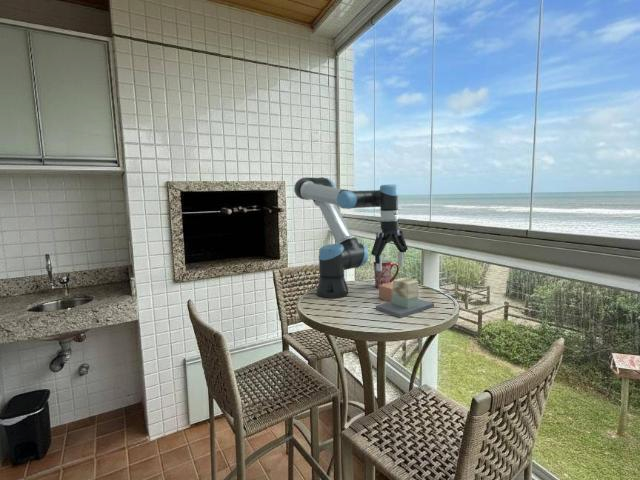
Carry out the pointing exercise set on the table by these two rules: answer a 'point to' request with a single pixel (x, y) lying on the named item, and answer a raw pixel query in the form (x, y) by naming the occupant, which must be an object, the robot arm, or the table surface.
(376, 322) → the table surface
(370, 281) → the table surface
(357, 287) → the table surface
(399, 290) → the maple brick
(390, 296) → the terracotta brick
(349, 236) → the robot arm
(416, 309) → the baseplate
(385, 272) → the mug
